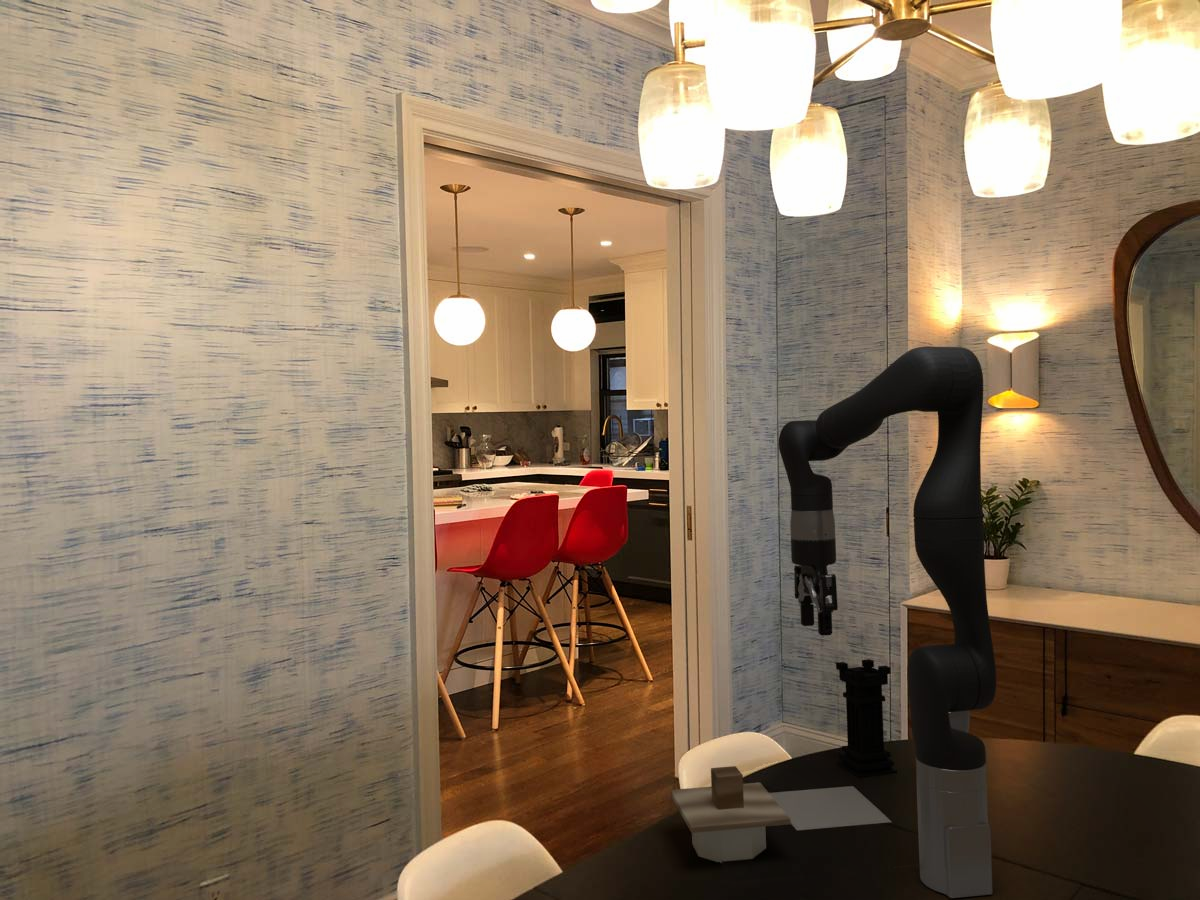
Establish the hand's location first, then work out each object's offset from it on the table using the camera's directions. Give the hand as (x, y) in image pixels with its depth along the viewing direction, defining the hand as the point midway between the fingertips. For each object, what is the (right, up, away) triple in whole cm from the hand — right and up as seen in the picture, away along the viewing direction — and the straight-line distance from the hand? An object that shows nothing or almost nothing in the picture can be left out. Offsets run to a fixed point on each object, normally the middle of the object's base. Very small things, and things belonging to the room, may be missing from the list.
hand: (816, 630), depth 157 cm
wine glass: (+25, -30, +5) cm, 39 cm away
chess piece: (+13, -30, +16) cm, 36 cm away
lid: (-17, -25, -15) cm, 34 cm away
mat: (+1, -30, -2) cm, 30 cm away
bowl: (-17, -31, -15) cm, 38 cm away
